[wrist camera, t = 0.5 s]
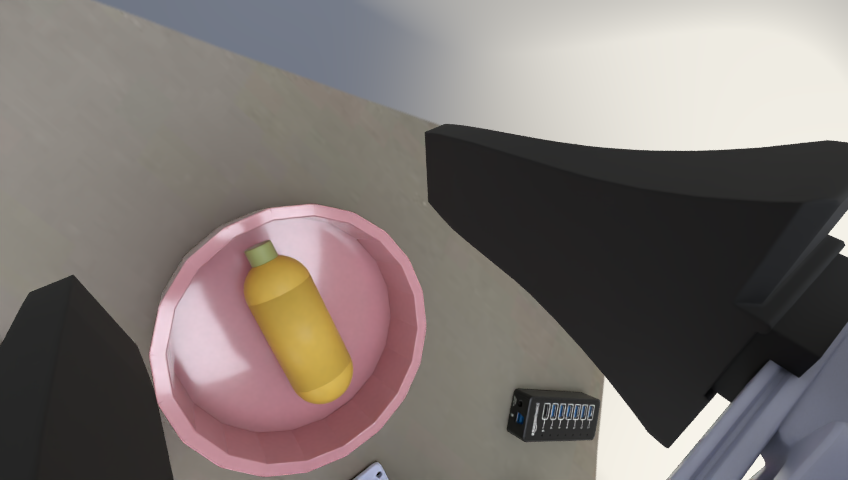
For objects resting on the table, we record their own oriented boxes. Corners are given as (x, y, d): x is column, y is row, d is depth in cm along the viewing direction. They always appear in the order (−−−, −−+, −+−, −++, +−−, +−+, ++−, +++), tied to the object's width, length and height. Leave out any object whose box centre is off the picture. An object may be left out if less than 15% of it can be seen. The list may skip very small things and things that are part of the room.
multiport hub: (577, 431, 48) (594, 440, 46) (506, 432, 42) (522, 442, 40) (584, 392, 48) (601, 399, 46) (514, 388, 43) (530, 396, 41)
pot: (424, 354, 37) (456, 371, 33) (233, 489, 30) (243, 536, 25) (344, 172, 33) (370, 164, 29) (98, 276, 25) (81, 288, 21)
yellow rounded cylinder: (350, 369, 33) (372, 388, 29) (299, 403, 31) (316, 428, 28) (281, 230, 30) (296, 231, 26) (220, 258, 28) (226, 263, 25)
